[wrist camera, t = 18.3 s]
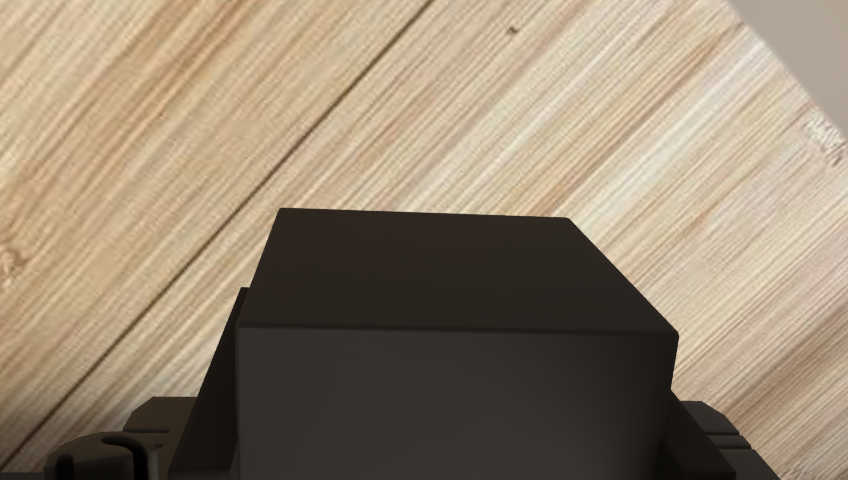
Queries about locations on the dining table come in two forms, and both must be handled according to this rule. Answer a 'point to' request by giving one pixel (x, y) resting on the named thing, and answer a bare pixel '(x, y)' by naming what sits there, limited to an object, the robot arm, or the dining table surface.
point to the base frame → (22, 476)
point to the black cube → (446, 352)
